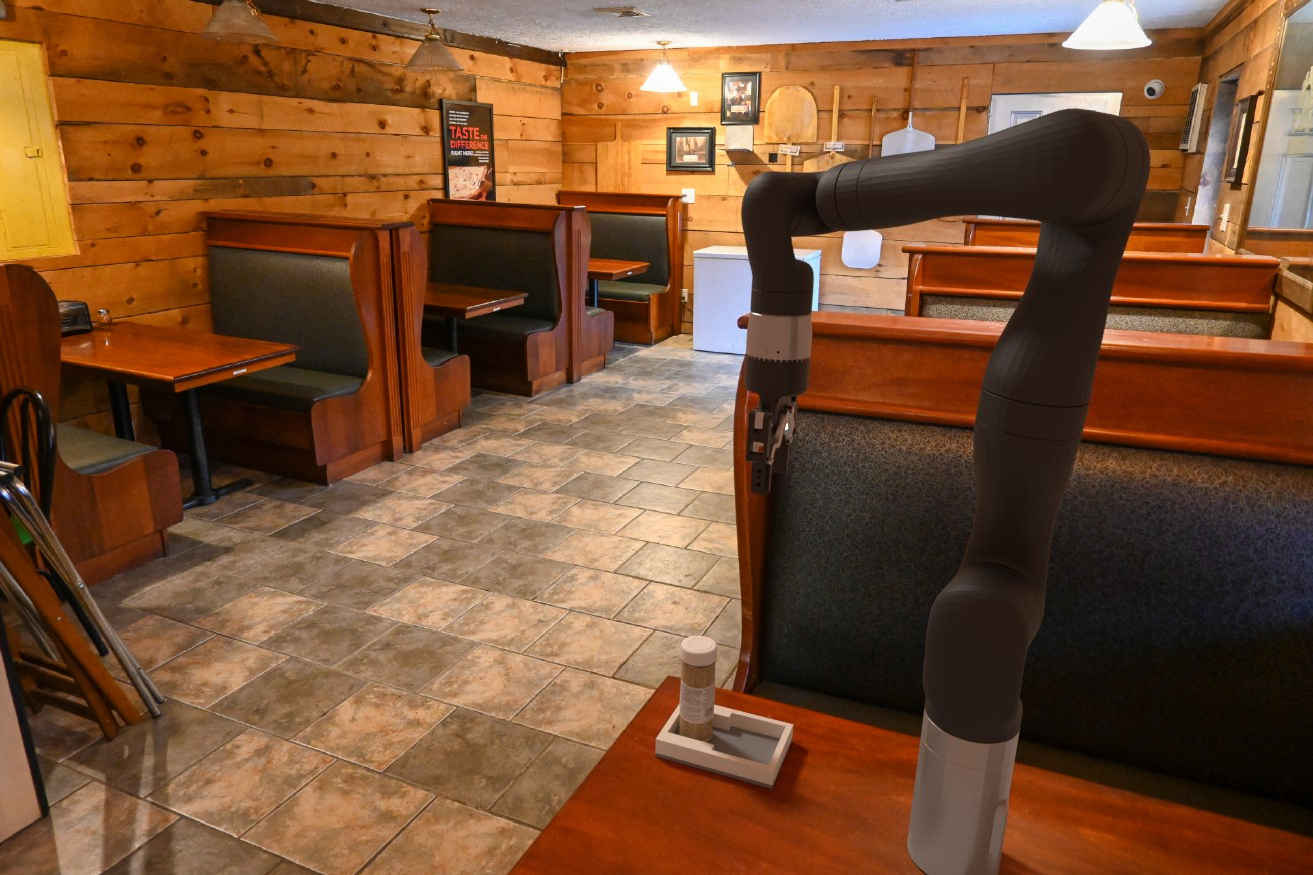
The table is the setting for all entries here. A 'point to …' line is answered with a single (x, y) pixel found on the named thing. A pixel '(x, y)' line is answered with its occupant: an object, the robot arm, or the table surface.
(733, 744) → the shallow tray
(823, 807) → the table surface
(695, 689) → the sprinkles bottle
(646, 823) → the table surface
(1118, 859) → the table surface
